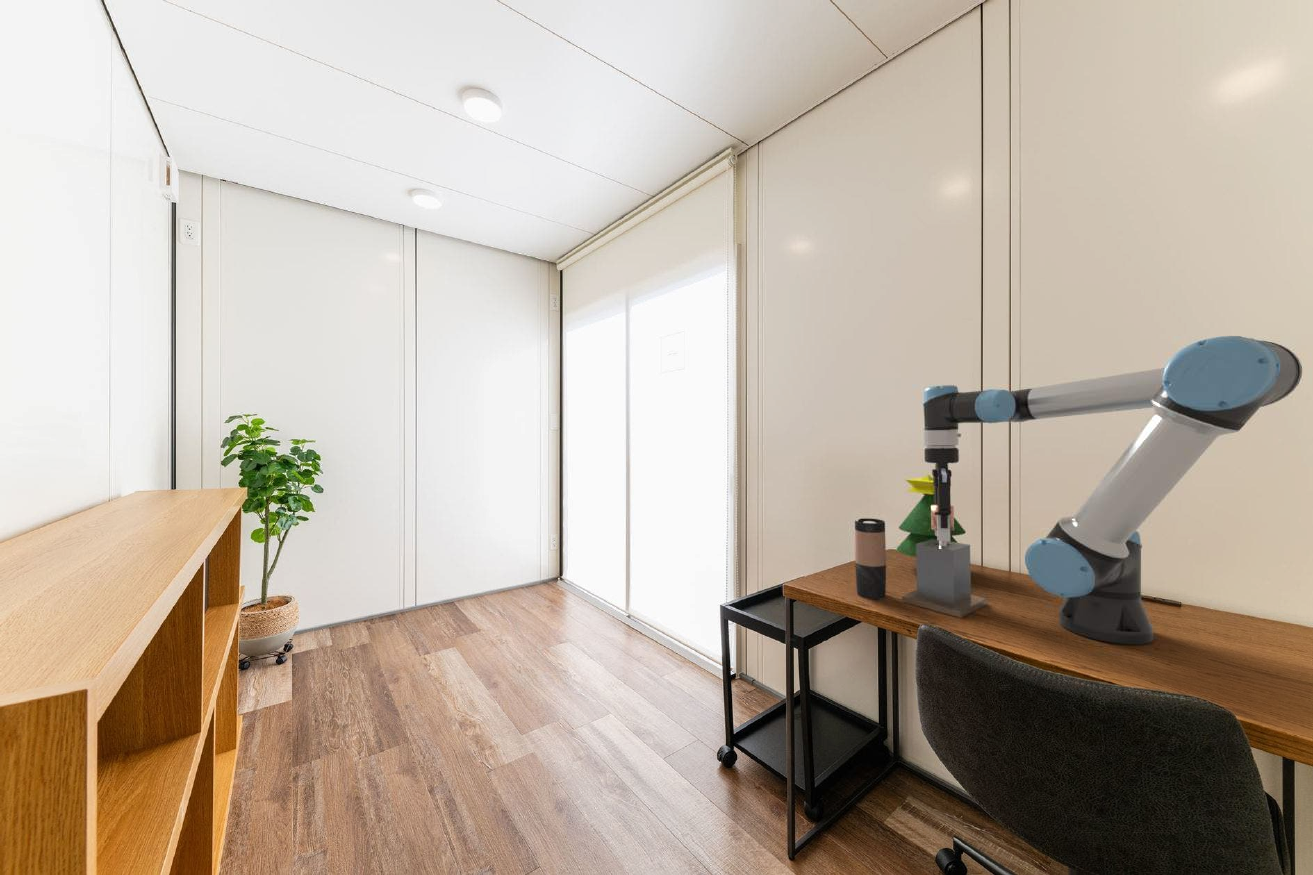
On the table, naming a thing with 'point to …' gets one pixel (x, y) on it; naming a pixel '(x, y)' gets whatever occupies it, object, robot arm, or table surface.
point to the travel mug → (870, 558)
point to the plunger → (934, 520)
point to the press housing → (944, 579)
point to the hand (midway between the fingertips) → (942, 538)
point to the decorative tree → (922, 518)
